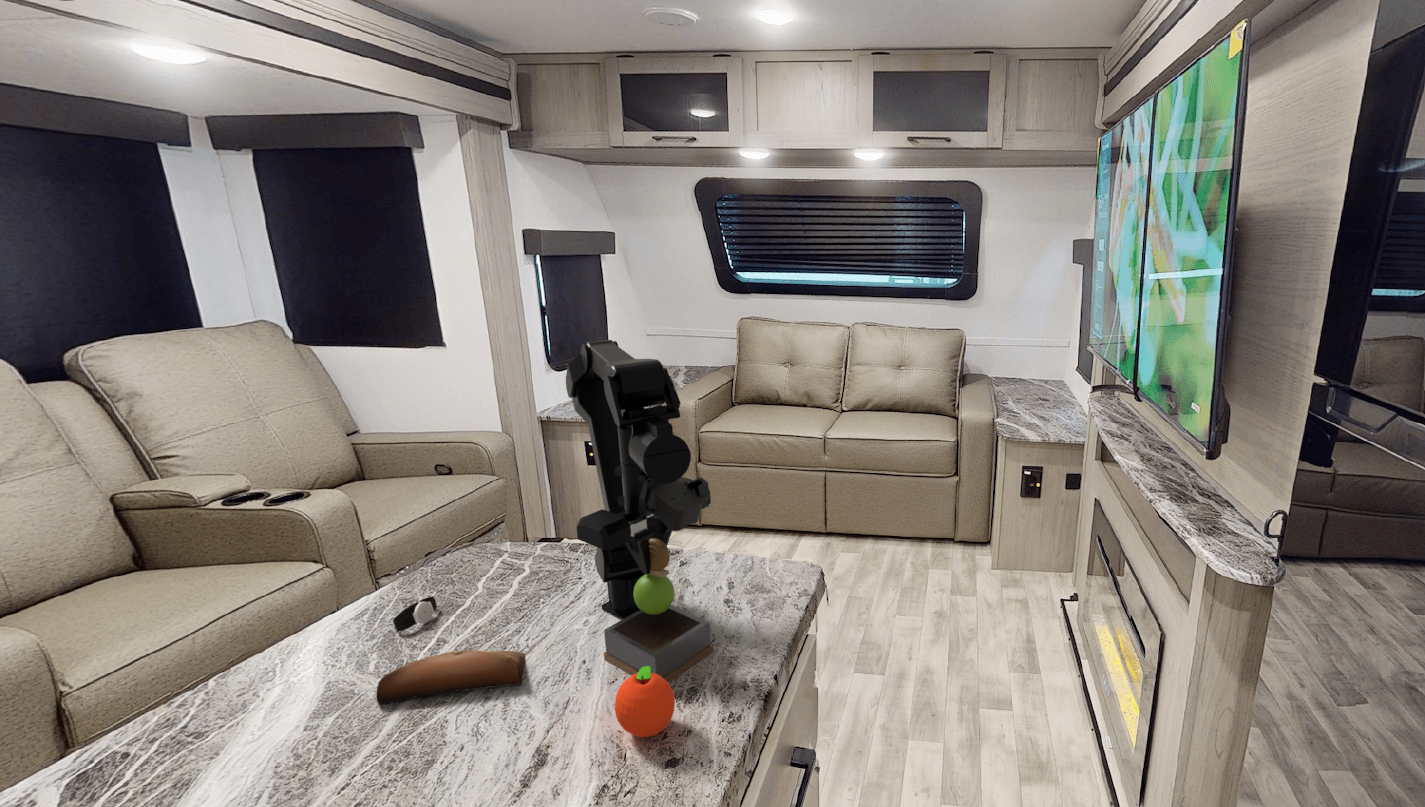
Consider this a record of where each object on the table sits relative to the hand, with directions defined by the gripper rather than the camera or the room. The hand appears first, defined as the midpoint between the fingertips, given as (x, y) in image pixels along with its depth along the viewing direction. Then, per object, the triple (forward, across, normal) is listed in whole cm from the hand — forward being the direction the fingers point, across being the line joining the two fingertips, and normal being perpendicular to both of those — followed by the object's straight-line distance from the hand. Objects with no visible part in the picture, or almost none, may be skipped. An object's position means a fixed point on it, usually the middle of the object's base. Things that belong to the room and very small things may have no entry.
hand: (651, 570), depth 92 cm
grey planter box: (+13, 0, 0) cm, 13 cm away
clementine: (+13, -11, -9) cm, 19 cm away
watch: (+13, -17, +37) cm, 43 cm away
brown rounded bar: (+14, -20, +18) cm, 30 cm away
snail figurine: (+6, -1, 0) cm, 6 cm away
